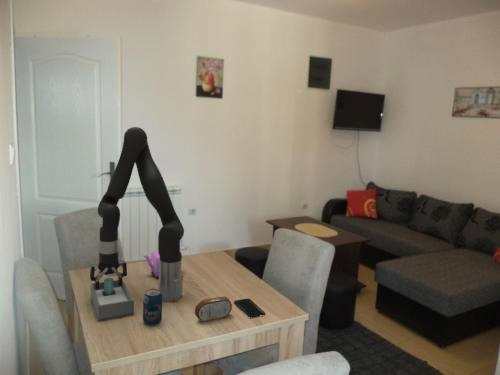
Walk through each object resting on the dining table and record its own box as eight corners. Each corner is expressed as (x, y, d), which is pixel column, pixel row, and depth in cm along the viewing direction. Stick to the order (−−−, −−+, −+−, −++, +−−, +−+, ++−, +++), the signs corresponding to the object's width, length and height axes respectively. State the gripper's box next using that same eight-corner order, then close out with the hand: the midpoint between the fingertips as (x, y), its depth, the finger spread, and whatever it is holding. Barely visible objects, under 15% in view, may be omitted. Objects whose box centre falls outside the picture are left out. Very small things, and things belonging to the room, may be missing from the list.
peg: (115, 296, 160) (115, 278, 159) (109, 300, 157) (109, 281, 155) (108, 295, 161) (108, 277, 160) (102, 298, 158) (102, 280, 156)
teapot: (178, 268, 197) (179, 245, 195) (184, 276, 188) (185, 252, 186) (139, 273, 188) (139, 249, 186) (143, 281, 179) (144, 256, 177)
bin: (122, 292, 166) (122, 279, 165) (133, 314, 147) (133, 300, 147) (90, 297, 160) (90, 283, 159) (98, 321, 141) (98, 306, 140)
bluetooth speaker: (228, 313, 153) (230, 294, 152) (232, 317, 151) (233, 297, 149) (194, 320, 146) (194, 300, 145) (197, 324, 143) (197, 303, 142)
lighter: (108, 276, 182) (108, 260, 181) (107, 275, 184) (107, 259, 182) (123, 274, 186) (123, 258, 185) (122, 273, 187) (122, 257, 186)
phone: (249, 298, 167) (266, 313, 154) (248, 300, 167) (266, 316, 154) (232, 301, 163) (249, 317, 150) (232, 303, 163) (249, 319, 150)
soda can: (144, 327, 139) (144, 297, 137) (141, 318, 145) (142, 289, 143) (163, 325, 141) (164, 294, 140) (159, 316, 148) (160, 287, 146)
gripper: (124, 245, 162) (124, 281, 165) (88, 249, 155) (89, 286, 157) (128, 251, 156) (128, 288, 158) (91, 255, 148) (91, 294, 151)
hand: (108, 287), depth 158 cm, fingers open, 8 cm apart
